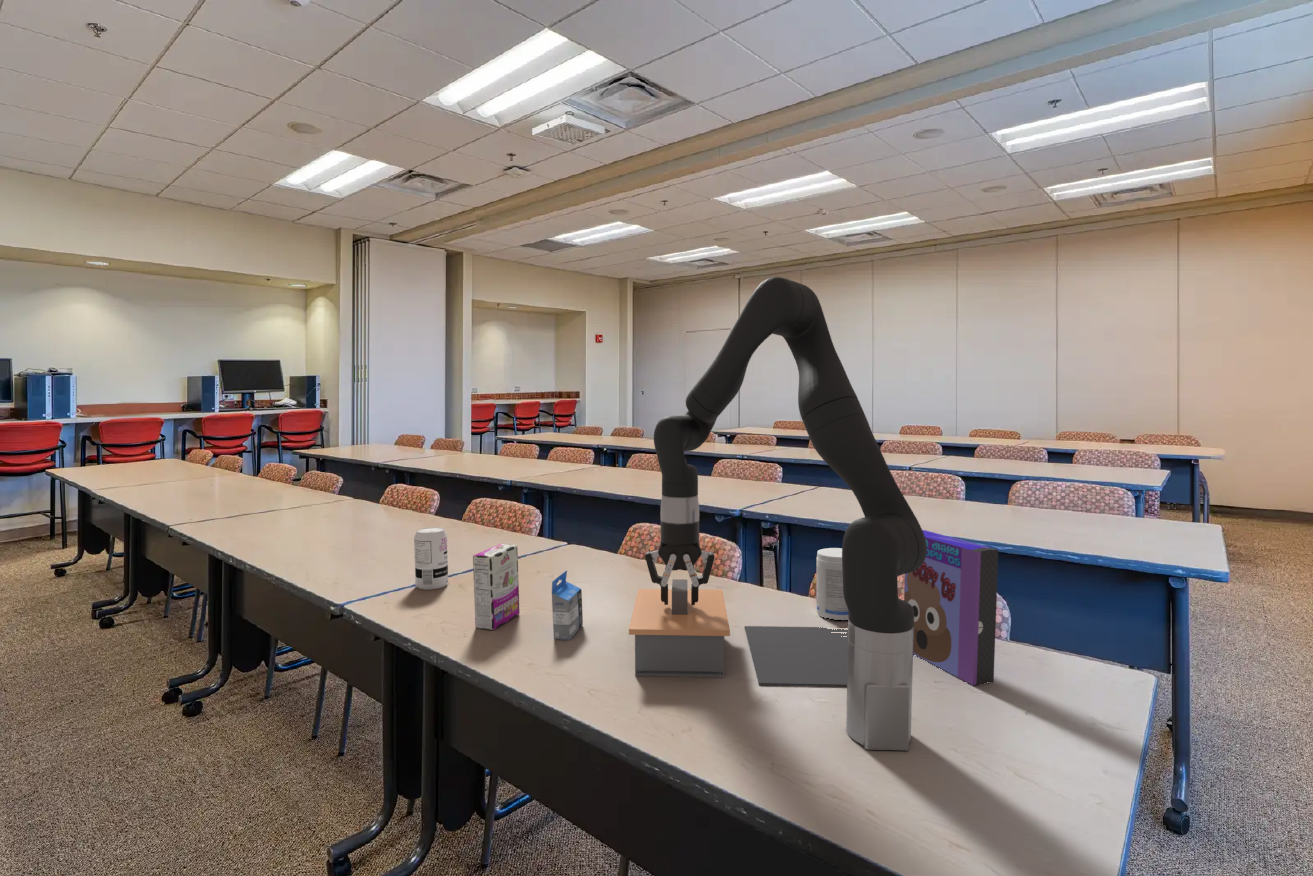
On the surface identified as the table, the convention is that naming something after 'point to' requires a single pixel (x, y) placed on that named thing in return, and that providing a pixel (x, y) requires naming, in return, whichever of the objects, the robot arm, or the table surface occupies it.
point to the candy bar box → (496, 586)
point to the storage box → (679, 655)
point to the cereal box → (955, 607)
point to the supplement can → (431, 558)
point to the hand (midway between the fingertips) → (679, 603)
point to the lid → (679, 612)
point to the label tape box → (566, 608)
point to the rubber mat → (799, 655)
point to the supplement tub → (830, 584)
